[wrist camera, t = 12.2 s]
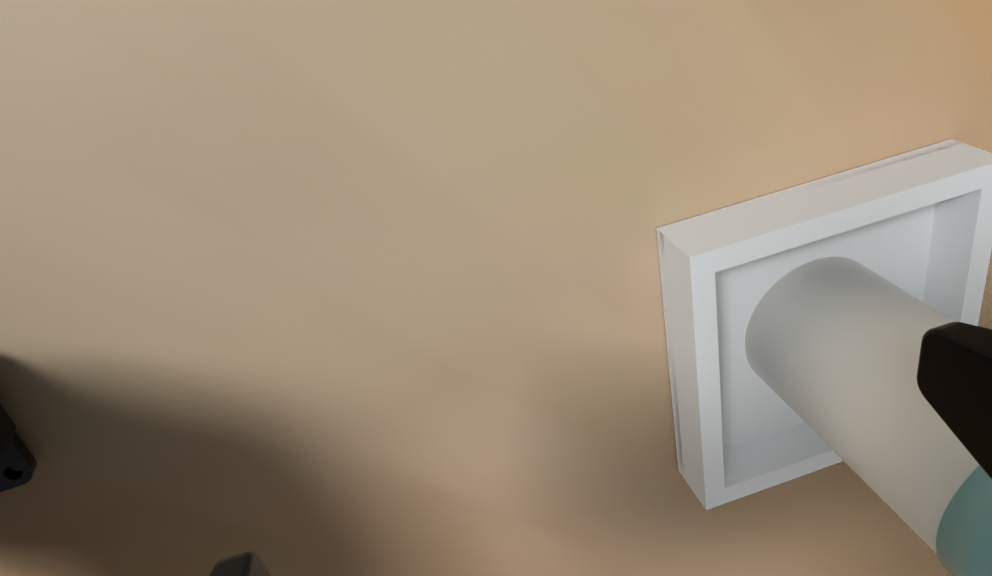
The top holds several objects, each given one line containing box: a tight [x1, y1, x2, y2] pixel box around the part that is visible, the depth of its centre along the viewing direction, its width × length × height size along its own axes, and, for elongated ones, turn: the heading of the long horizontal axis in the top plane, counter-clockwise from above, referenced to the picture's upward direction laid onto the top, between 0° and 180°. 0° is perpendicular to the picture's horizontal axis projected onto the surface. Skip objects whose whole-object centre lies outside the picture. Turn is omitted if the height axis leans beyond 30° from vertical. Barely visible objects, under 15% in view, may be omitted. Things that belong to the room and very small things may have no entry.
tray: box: [656, 139, 992, 510], centre depth 26 cm, size 11×11×2 cm
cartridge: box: [745, 257, 992, 576], centre depth 20 cm, size 6×6×14 cm
